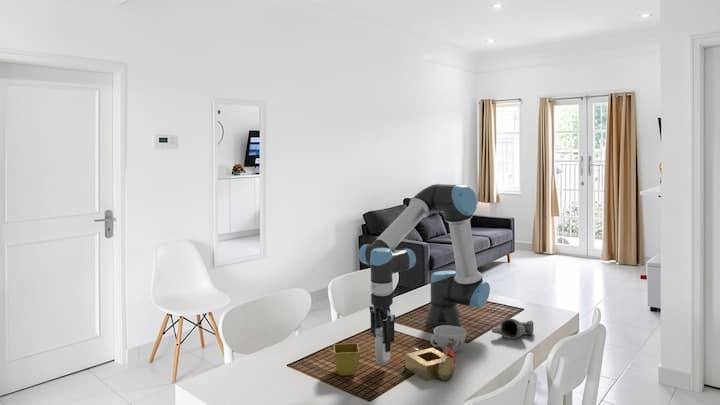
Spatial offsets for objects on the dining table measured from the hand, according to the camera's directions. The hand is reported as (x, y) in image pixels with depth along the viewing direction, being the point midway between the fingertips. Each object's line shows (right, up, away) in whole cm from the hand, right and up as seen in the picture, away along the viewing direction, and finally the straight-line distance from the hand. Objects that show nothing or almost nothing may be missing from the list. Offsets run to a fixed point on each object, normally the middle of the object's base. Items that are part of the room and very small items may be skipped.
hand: (382, 357), depth 182 cm
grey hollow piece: (+56, -1, +31) cm, 64 cm away
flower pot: (-13, -5, -2) cm, 14 cm away
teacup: (+26, -3, +17) cm, 31 cm away
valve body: (+18, -4, 0) cm, 18 cm away
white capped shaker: (0, -2, 0) cm, 2 cm away
